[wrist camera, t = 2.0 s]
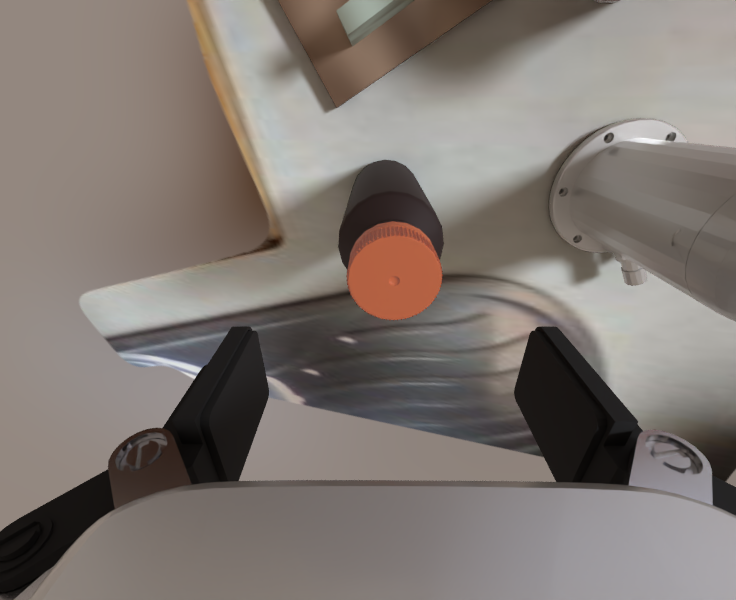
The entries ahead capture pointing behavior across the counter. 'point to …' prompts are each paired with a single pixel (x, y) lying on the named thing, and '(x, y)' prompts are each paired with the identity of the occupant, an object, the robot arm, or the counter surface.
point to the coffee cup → (605, 1)
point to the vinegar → (391, 243)
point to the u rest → (369, 36)
